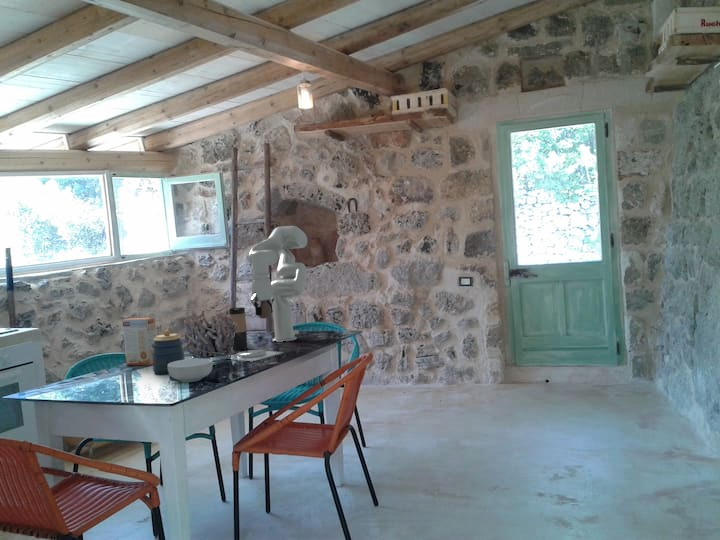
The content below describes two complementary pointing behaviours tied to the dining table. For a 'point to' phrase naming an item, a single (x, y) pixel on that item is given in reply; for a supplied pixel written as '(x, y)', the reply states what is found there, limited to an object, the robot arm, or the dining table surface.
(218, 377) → the dining table surface
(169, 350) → the canister
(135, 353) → the cracker box
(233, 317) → the travel mug
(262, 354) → the flange plate
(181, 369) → the cereal bowl
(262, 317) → the vase
